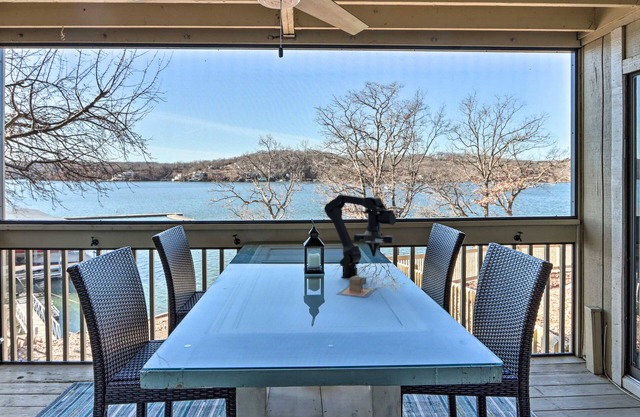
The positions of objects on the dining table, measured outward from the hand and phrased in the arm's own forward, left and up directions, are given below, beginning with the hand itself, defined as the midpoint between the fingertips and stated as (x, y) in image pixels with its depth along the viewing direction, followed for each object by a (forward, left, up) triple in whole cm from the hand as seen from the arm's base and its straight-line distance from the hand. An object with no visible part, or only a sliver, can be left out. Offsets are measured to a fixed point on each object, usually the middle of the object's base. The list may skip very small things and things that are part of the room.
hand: (374, 256), depth 197 cm
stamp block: (-2, -20, -12) cm, 23 cm away
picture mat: (-2, -19, -12) cm, 22 cm away
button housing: (-6, -6, -12) cm, 15 cm away
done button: (-6, -6, -11) cm, 14 cm away
